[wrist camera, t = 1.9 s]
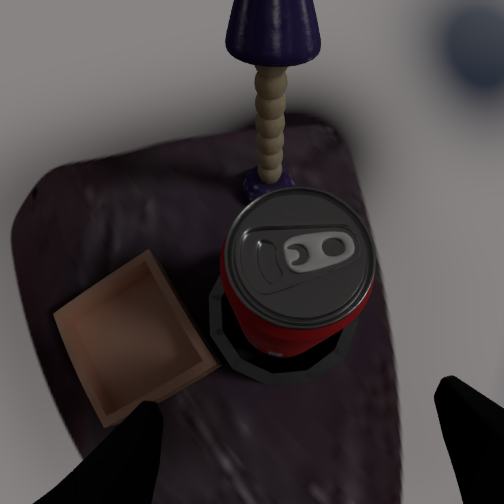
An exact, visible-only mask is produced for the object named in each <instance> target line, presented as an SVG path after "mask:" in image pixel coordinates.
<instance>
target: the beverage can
mask: <svg viewBox="0 0 504 504" xmlns="http://www.w3.org/2000/svg"><path fill="white" fill-rule="evenodd" d="M375 267H376V255H375V248H374V244H373V240H372V237H371V235H370V232H369V230H368V228H367V226H366V225H365V223H364V221H363V220H362V219H361V217H360V216H359V215H358V214H357V213H356V211H355V210H354V209H352V208H351V207H350V206H349V205H348V204H347V203H345V202H344V201H342V200H341V199H339V198H338V197H336V196H334V195H333V194H331V193H329V192H327V191H324V190H319V189H315V188H309V187H285V188H280V189H276V190H273V191H270V192H267V193H265V194H263V195H261V196H259V197H257V198H256V199H254V200H253V201H251V202H250V203H249V204H248V205H246V206H245V207H244V208H243V209H242V210H241V212H240V213H239V214H238V215H237V217H236V218H235V220H234V221H233V223H232V225H231V227H230V229H229V232H228V234H227V236H226V238H225V240H224V243H223V246H222V250H221V256H220V275H221V281H222V285H223V288H224V291H225V293H226V296H227V298H228V300H229V302H230V305H231V307H232V309H233V311H234V313H235V316H236V318H237V320H238V322H239V324H240V326H241V329H242V331H243V333H244V335H245V337H246V339H247V340H248V342H249V343H250V344H251V345H252V346H253V347H254V348H255V349H256V350H257V351H259V352H261V353H262V354H264V355H267V356H270V357H274V358H290V357H294V356H297V355H299V354H301V353H303V352H305V351H306V350H308V349H310V348H312V347H313V346H315V345H317V344H318V343H320V342H322V341H323V340H325V339H327V338H328V337H330V336H332V335H333V334H335V333H337V332H338V331H340V330H341V329H343V328H344V327H346V326H347V325H348V324H349V323H351V322H352V321H353V320H354V319H355V318H356V317H357V315H358V314H359V313H360V312H361V310H362V309H363V307H364V306H365V304H366V302H367V300H368V298H369V296H370V293H371V290H372V286H373V281H374V274H375Z"/></svg>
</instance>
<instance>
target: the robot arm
mask: <svg viewBox="0 0 504 504" xmlns="http://www.w3.org/2000/svg"><path fill="white" fill-rule="evenodd" d="M434 402H435V405H436V409H437V413H438V417H439V422H440V426H441V430H442V434H443V438H444V441H445V444H446V447H447V450H448V453H449V456H450V459H451V462H452V466H453V469H454V472H455V475H456V479H457V482H458V486H459V489H460V493H461V497H462V501H463V504H504V408H502V407H501V406H499V405H498V404H496V403H495V402H493V401H492V400H490V399H489V398H487V397H486V396H484V395H482V394H481V393H479V392H478V391H477V390H475V389H474V388H472V387H470V386H469V385H467V384H466V383H464V382H462V381H461V380H460V379H458V378H457V377H455V376H447V377H444V378H443V379H441V381H440V383H439V385H438V388H437V390H436V392H435V394H434ZM162 432H163V416H162V414H161V412H160V409H159V407H158V404H157V403H156V402H155V401H147V400H144V401H142V402H141V403H140V404H139V405H138V406H137V407H136V408H135V409H134V410H133V411H132V412H131V413H130V414H129V415H128V416H127V417H126V418H125V419H124V420H123V421H122V422H121V423H120V424H119V425H118V426H117V427H116V428H115V429H114V430H113V431H112V432H111V433H110V434H109V435H108V436H107V437H106V438H105V439H104V440H103V441H102V442H101V443H100V444H99V445H98V446H97V447H96V448H95V449H94V450H93V451H92V452H91V453H90V454H89V455H88V456H87V457H86V458H85V459H84V460H83V461H82V462H81V463H80V464H79V465H78V466H77V467H76V468H75V469H74V470H73V471H72V472H71V473H70V474H68V475H67V477H65V478H64V479H63V480H62V481H61V482H60V483H59V484H58V485H57V486H55V487H54V488H53V489H52V490H51V491H49V492H48V493H47V494H46V495H44V496H43V497H41V498H40V499H39V500H37V501H36V502H34V503H33V504H151V503H152V498H153V493H154V488H155V483H156V479H157V474H158V469H159V464H160V453H161V442H162Z"/></svg>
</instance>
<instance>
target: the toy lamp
mask: <svg viewBox="0 0 504 504" xmlns="http://www.w3.org/2000/svg"><path fill="white" fill-rule="evenodd" d="M225 43H226V48H227V51H228V52H229V53H230V54H231V55H232V56H233V57H234V58H236V59H238V60H241V61H242V62H245V63H249V64H252V65H255V68H256V70H257V71H258V72H257V74H256V76H255V89H256V91H257V96H256V99H255V106H256V110H257V112H258V113H257V116H256V128H257V131H258V133H257V137H256V142H257V146H258V148H259V149H258V152H257V159H258V162H259V165H257V166H256V167H254V168H253V169H251V170H250V171H249V172H248V173H247V175H246V176H245V178H244V181H243V184H242V195H243V198H244V200H245V201H246V203H247V204H249V203H250V202H251V201H253V200H254V199H256V198H257V197H259V196H261V195H263V194H265V193H267V192H270V191H273V190H276V189H280V188H285V187H295V182H294V179H293V177H292V176H291V174H290V173H289V172H288V171H287V170H286V169H285V168H283V167H282V165H281V162H282V159H283V151H282V147H283V144H284V135H283V132H282V131H283V129H284V125H285V119H284V114H283V112H284V110H285V106H286V99H285V95H284V93H285V90H286V88H287V76H286V73H285V71H286V69H287V67H288V66H296V65H299V64H303V63H306V62H308V61H310V60H313V59H314V58H315V57H316V56H317V55H318V54H319V52H320V48H321V38H320V33H319V27H318V22H317V18H316V12H315V8H314V3H313V0H234V2H233V6H232V10H231V15H230V20H229V24H228V28H227V33H226V39H225Z"/></svg>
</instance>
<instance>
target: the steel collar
mask: <svg viewBox="0 0 504 504" xmlns="http://www.w3.org/2000/svg"><path fill="white" fill-rule="evenodd" d="M230 306H231V305H230V302H229V300H228V298H227V296H226V293H225V291H224V288H223V285H222V281H221V275H220V276H219V278H218V280H217V281H216V283H215V285H214V287H213V289H212V291H211V293H210V294H209V320H210V336H211V337H212V339H213V340H214V342H215V343H216V345H217V346H218V348H219V349H220V351H221V352H222V354H223V355H224V357H225V358H226V360H227V361H228V363H229V364H230V366H231V367H232V369H234V370H236V371H238V372H240V373H242V374H244V375H246V376H248V377H251V378H253V379H255V380H257V381H259V382H261V383H263V384H266V385H268V386H270V387H271V386H282V385H292V384H301V383H310V382H313V381H314V380H316V379H317V378H318V377H320V376H321V375H322V374H324V373H325V372H326V371H328V370H329V369H330V368H332V367H333V366H334V365H336V364H337V363H338V362H340V361H341V360H342V359H343V358H345V355H346V353H347V350H348V348H349V345H350V343H351V341H352V338H353V336H354V333H355V331H356V328H357V325H358V323H359V317H358V315H357V317H356V318H355V319H354V320H353V321H352V322H351V323H349V324H348V325H347V326H346V327H344V328H343V329H341V330H340V331H338V332H337V333H335V334H333V335H332V336H331V337H330V339H329V342H328V344H327V346H326V348H325V351H324V353H323V355H321V356H320V357H319V358H317V359H316V360H315V361H313V362H312V363H310V364H309V365H308V366H306V367H305V368H303V369H302V370H301V371H296V372H286V373H275V374H272V373H270V372H268V371H266V370H263V369H261V368H259V367H257V366H255V365H253V364H251V363H249V362H246V361H244V360H243V358H242V357H241V355H240V354H239V352H238V351H237V349H236V348H235V346H234V345H233V343H232V342H231V340H230V339H229V325H228V309H229V308H230Z"/></svg>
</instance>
